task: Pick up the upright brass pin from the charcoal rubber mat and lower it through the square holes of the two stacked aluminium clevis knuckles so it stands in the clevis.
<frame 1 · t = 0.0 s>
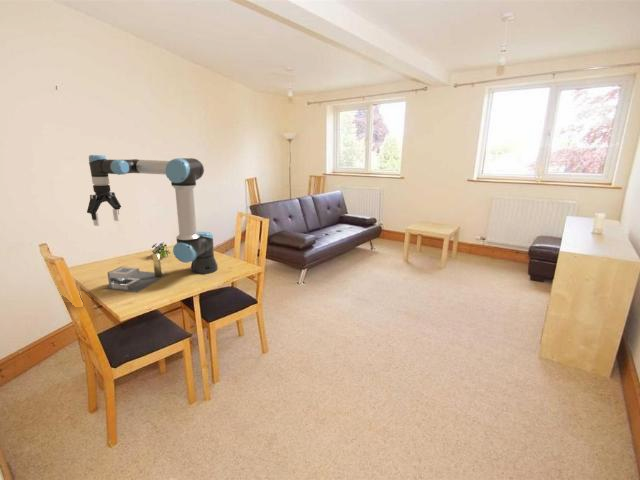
hand: (107, 223, 173), 28 cm above the table, tool pointing down, fingers open, 13 cm apart
mat: (138, 281, 165), on the table
passion flower: (161, 256, 206), on the table
clevis: (126, 285, 158), resting on mat
pin: (158, 276, 172), resting on mat
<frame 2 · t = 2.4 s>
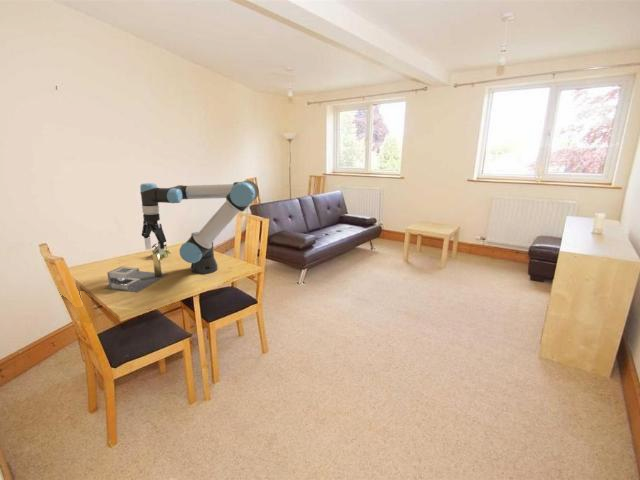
hand: (155, 251, 168), 15 cm above the table, tool pointing down, fingers open, 13 cm apart
nothing on the table moved.
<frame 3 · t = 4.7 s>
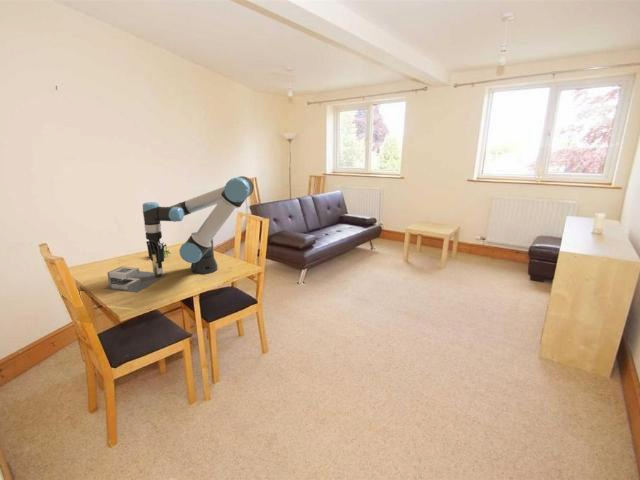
hand: (158, 272, 171), 3 cm above the table, tool pointing down, fingers closed on pin, 3 cm apart
pin: (158, 276, 172), point 1 cm above the table, touching gripper, mat
everything else where it was.
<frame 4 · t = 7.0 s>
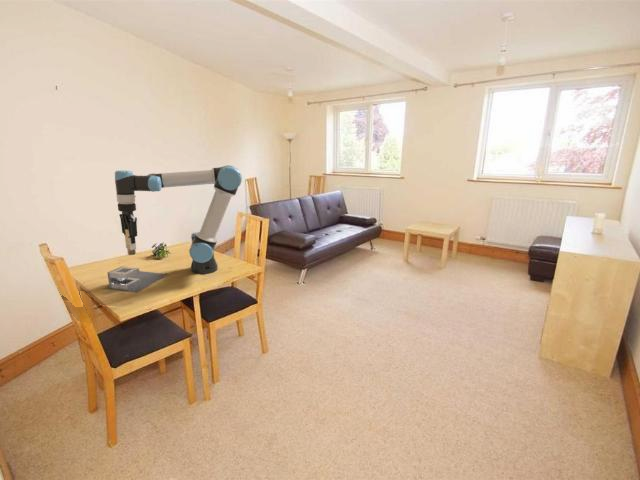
hand: (131, 248, 158), 19 cm above the table, tool pointing down, fingers closed on pin, 3 cm apart
pin: (131, 254, 159), point 16 cm above the table, touching gripper
everything else where it was.
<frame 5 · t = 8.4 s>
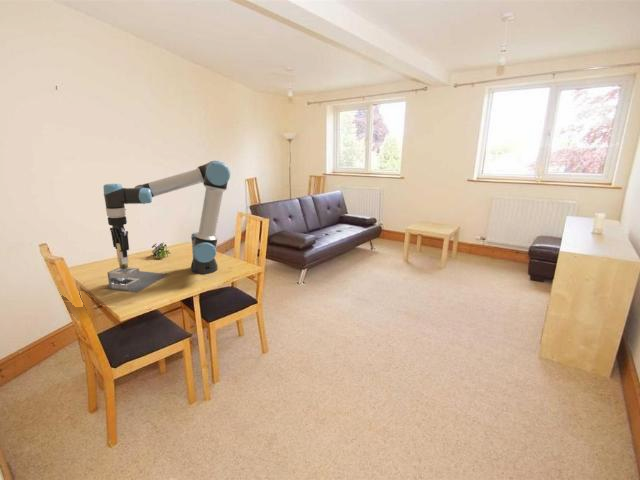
hand: (123, 262, 155), 13 cm above the table, tool pointing down, fingers closed on pin, 3 cm apart
pin: (124, 267, 156), point 10 cm above the table, touching gripper
everything else where it was.
when the fingers open (10 cm above the table, at t = 9.6 s): pin drops 6 cm, resting on mat.
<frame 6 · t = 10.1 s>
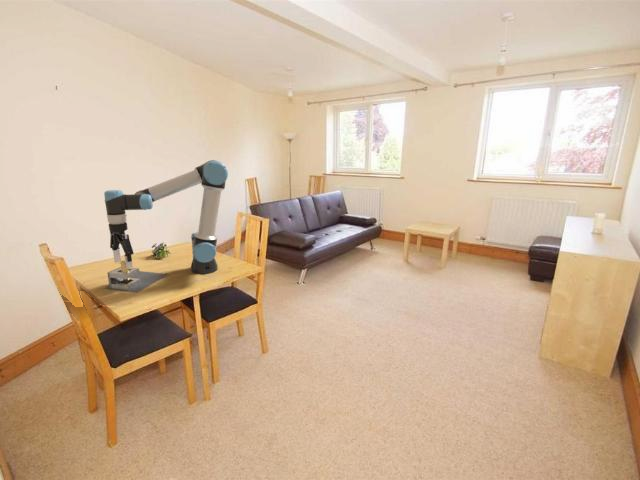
hand: (123, 264, 155), 12 cm above the table, tool pointing down, fingers open, 11 cm apart
pin: (126, 285, 158), point 1 cm above the table, touching mat
everything else where it was.
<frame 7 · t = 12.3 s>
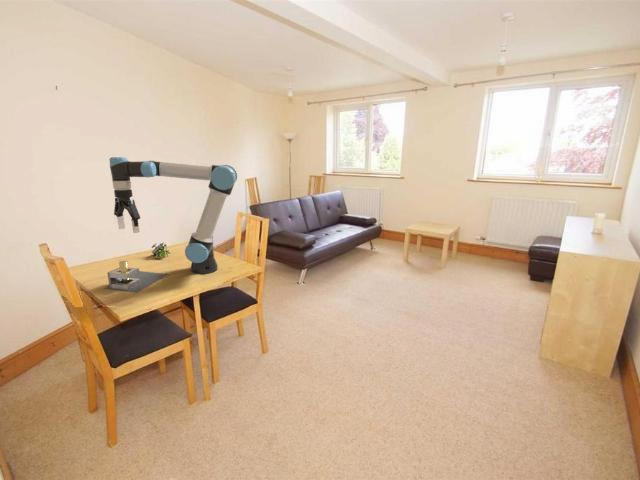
hand: (129, 230, 159), 28 cm above the table, tool pointing down, fingers open, 13 cm apart
nothing on the table moved.
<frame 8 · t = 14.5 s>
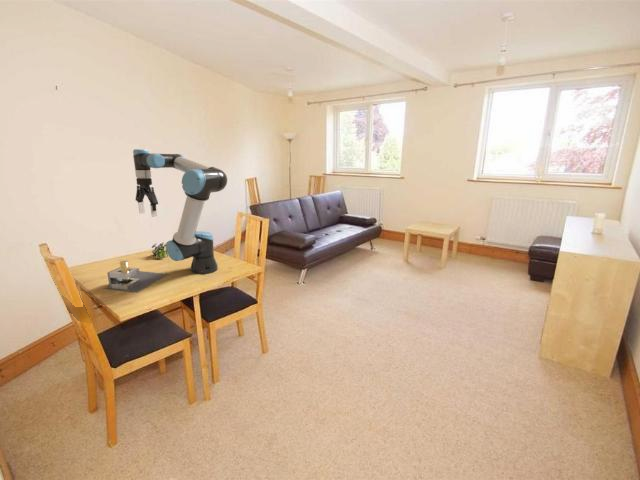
hand: (148, 214, 180), 32 cm above the table, tool pointing down, fingers open, 13 cm apart
nothing on the table moved.
at the end: pin 0.0 cm off-centre on the clevis, point 0.0 cm above the clevis's base; pin tilted 1°; the gripper is holding nothing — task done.
